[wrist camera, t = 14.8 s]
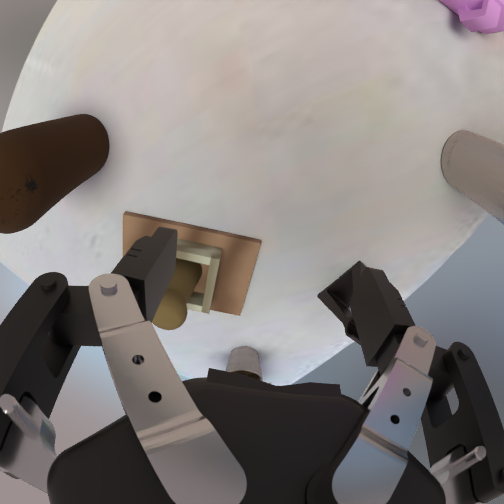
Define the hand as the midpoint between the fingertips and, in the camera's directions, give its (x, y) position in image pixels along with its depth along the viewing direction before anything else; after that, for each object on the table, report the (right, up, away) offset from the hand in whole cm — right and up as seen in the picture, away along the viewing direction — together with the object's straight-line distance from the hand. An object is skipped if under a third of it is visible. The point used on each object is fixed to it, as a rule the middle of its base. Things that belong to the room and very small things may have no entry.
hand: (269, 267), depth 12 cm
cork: (-11, -2, +31) cm, 33 cm away
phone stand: (+15, -5, +33) cm, 37 cm away
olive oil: (-25, +16, +22) cm, 37 cm away
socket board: (-11, -1, +31) cm, 33 cm away
